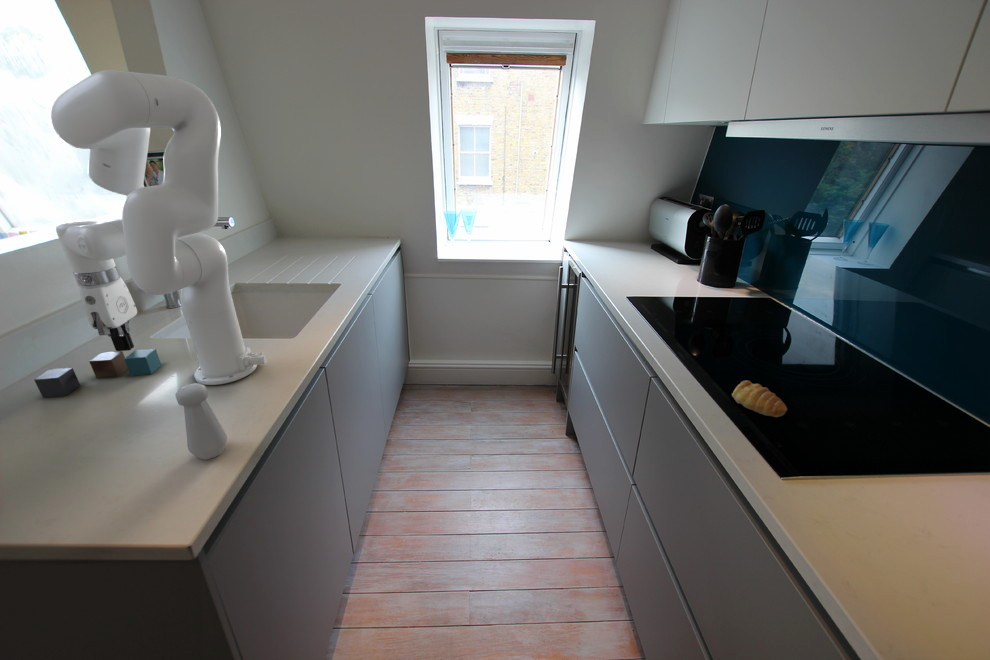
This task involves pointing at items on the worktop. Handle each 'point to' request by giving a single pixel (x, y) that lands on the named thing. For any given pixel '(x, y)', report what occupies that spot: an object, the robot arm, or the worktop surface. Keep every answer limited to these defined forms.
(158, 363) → the teal block
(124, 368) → the walnut block
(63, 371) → the charcoal block
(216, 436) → the salt shaker
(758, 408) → the pastry
